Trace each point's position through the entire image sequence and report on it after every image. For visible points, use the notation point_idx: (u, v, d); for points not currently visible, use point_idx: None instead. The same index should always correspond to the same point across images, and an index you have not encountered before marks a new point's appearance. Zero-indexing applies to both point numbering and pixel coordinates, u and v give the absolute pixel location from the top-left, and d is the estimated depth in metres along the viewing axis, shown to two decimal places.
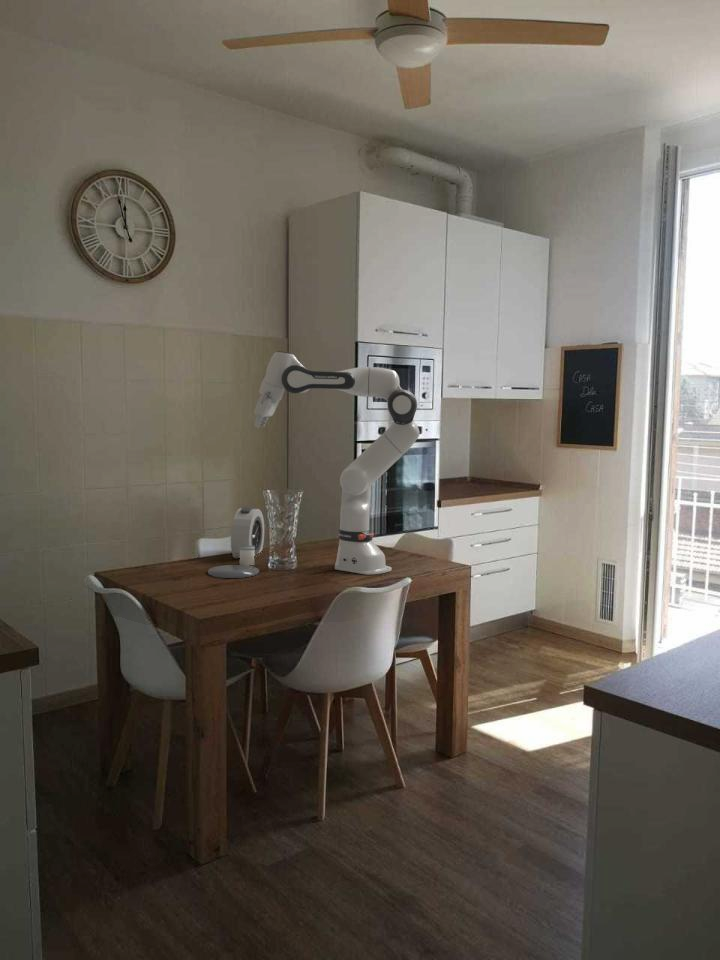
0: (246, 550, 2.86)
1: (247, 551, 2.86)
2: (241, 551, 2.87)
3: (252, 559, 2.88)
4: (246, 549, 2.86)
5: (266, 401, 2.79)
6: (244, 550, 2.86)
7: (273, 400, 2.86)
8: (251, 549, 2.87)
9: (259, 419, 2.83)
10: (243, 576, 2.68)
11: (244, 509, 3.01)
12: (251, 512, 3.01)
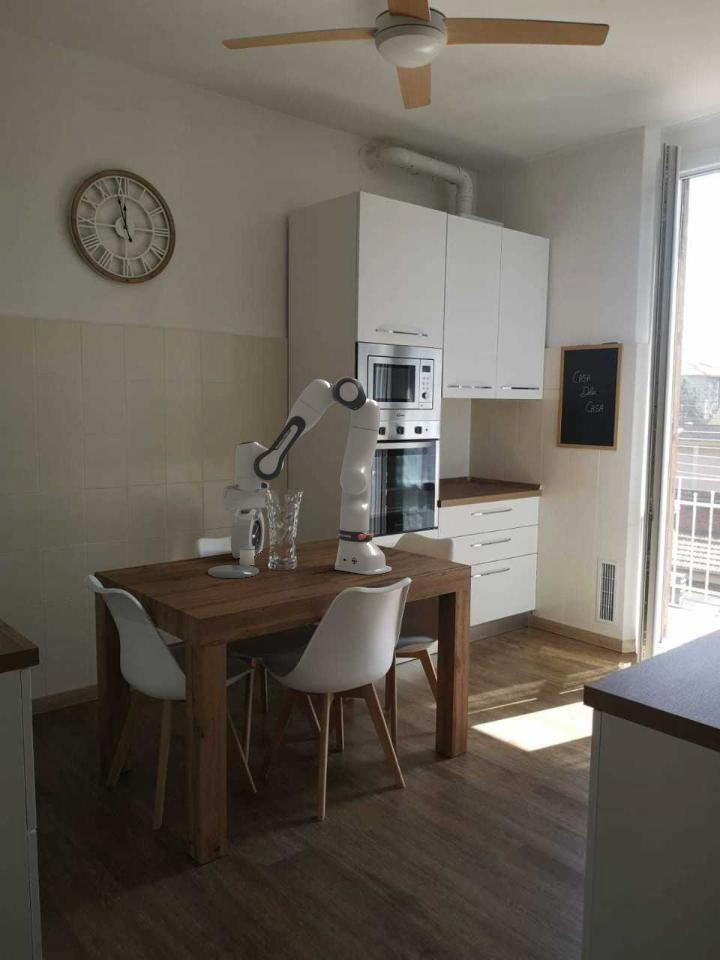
0: (246, 550, 2.86)
1: (247, 551, 2.86)
2: (241, 551, 2.87)
3: (252, 559, 2.88)
4: (246, 549, 2.86)
5: (227, 494, 2.80)
6: (244, 550, 2.86)
7: (245, 491, 2.84)
8: (251, 549, 2.87)
9: (232, 513, 2.83)
10: (243, 576, 2.68)
11: (244, 509, 3.01)
12: (251, 512, 3.01)
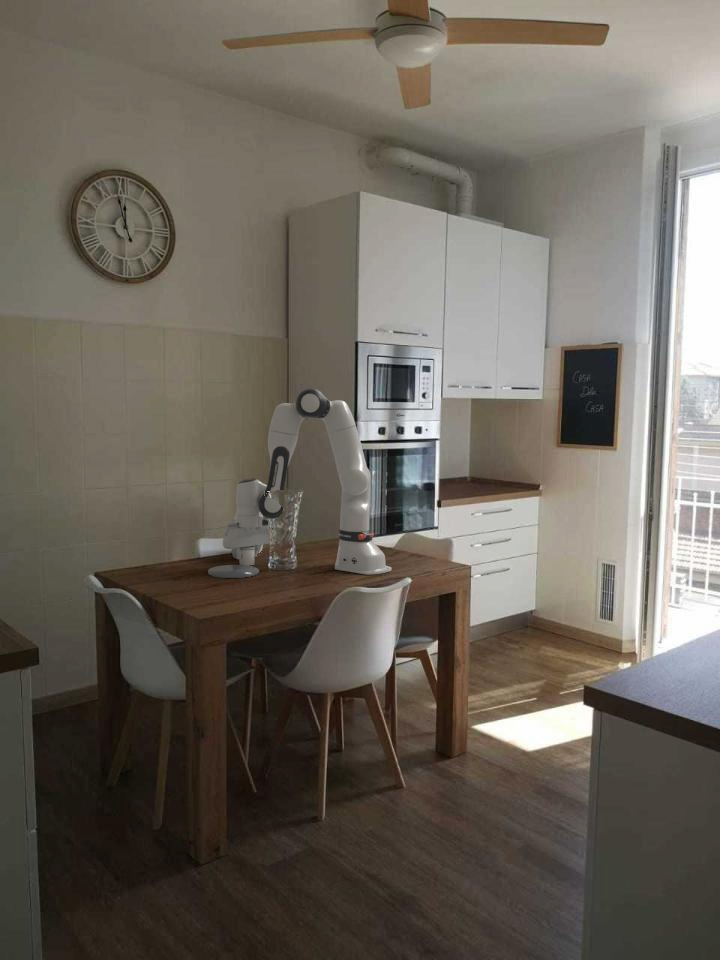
0: (246, 550, 2.86)
1: (247, 551, 2.86)
2: (241, 551, 2.87)
3: (252, 559, 2.88)
4: (246, 549, 2.86)
5: (228, 533, 2.81)
6: (244, 550, 2.86)
7: (246, 529, 2.85)
8: (251, 549, 2.87)
9: (236, 551, 2.85)
10: (243, 576, 2.68)
11: None
12: None
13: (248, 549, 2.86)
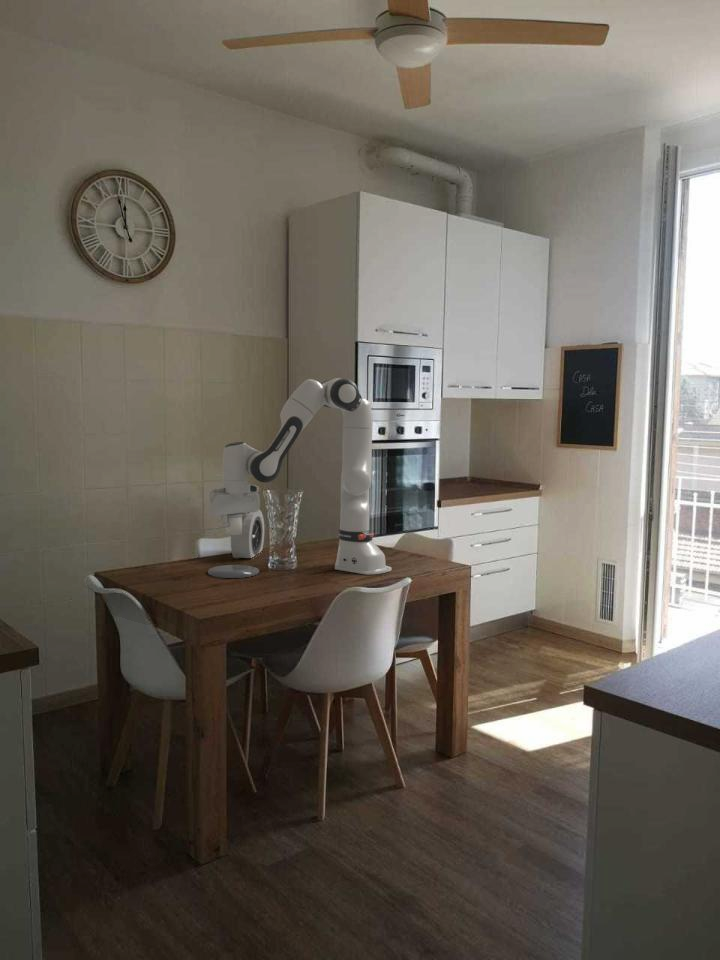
0: (233, 517, 2.71)
1: (234, 518, 2.71)
2: (228, 518, 2.71)
3: (239, 527, 2.72)
4: (233, 516, 2.70)
5: (214, 498, 2.65)
6: (231, 517, 2.71)
7: (233, 495, 2.69)
8: (238, 516, 2.71)
9: (223, 518, 2.69)
10: (243, 576, 2.68)
11: None
12: (251, 512, 3.01)
13: (235, 516, 2.71)
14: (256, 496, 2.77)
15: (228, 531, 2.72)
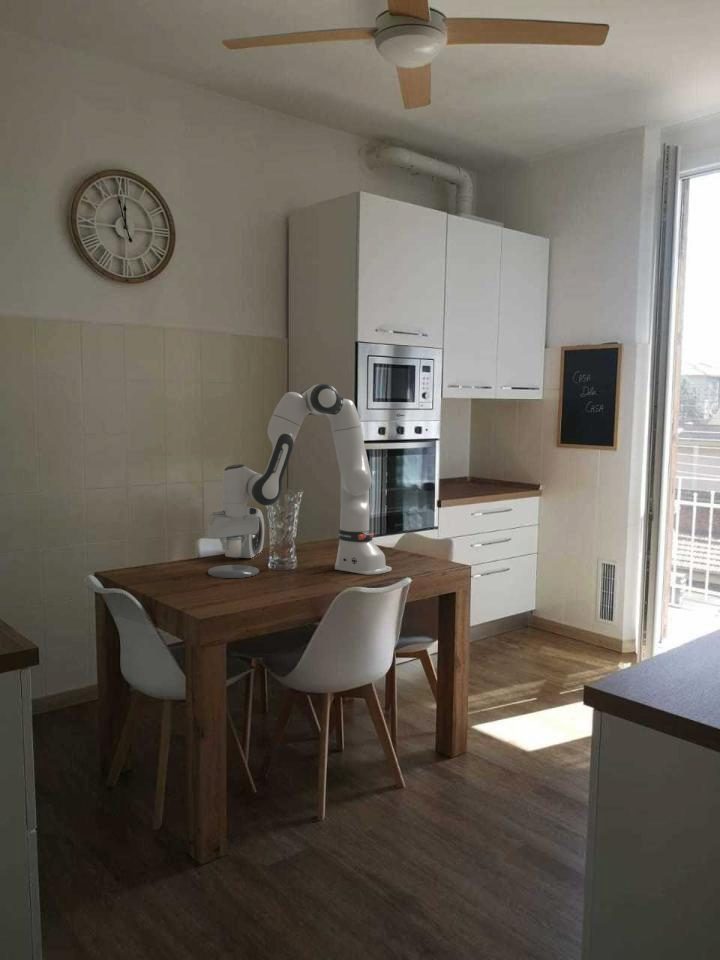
0: (232, 540, 2.71)
1: (233, 541, 2.71)
2: (227, 541, 2.72)
3: (238, 549, 2.73)
4: (232, 539, 2.71)
5: (214, 521, 2.66)
6: (230, 540, 2.71)
7: (232, 518, 2.70)
8: (237, 539, 2.72)
9: (222, 541, 2.70)
10: (243, 576, 2.68)
11: None
12: None
13: (234, 539, 2.71)
14: (255, 518, 2.77)
15: (227, 553, 2.72)
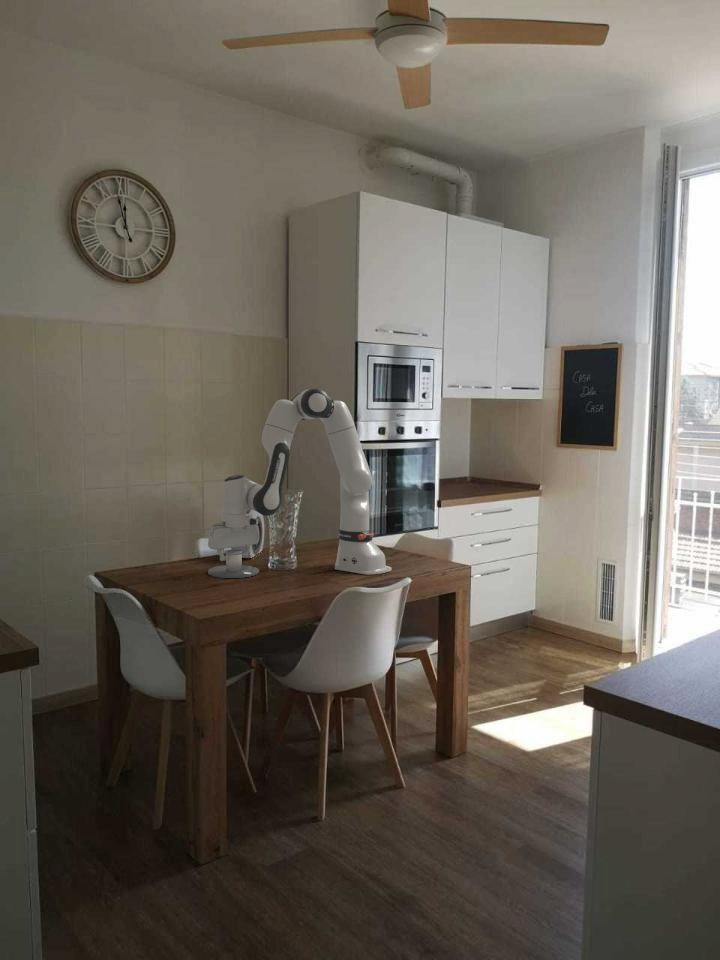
0: (233, 554, 2.72)
1: (234, 556, 2.72)
2: (227, 556, 2.73)
3: (239, 564, 2.74)
4: (233, 553, 2.72)
5: (214, 533, 2.66)
6: (231, 554, 2.72)
7: (233, 529, 2.71)
8: (238, 553, 2.73)
9: (219, 552, 2.70)
10: (243, 576, 2.68)
11: None
12: (251, 512, 3.01)
13: (235, 554, 2.72)
14: (256, 529, 2.78)
15: (228, 568, 2.73)
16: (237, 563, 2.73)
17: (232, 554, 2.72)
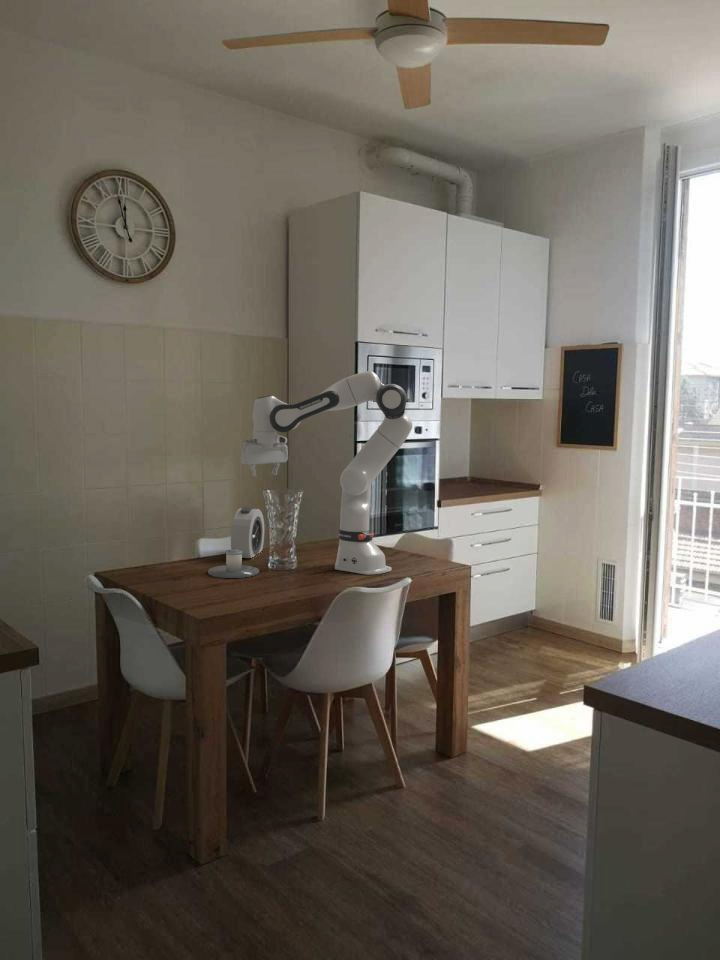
0: (233, 555, 2.72)
1: (234, 556, 2.72)
2: (228, 556, 2.73)
3: (239, 564, 2.74)
4: (233, 553, 2.72)
5: (247, 448, 2.81)
6: (231, 555, 2.72)
7: (264, 445, 2.85)
8: (238, 553, 2.73)
9: (252, 467, 2.84)
10: (243, 576, 2.68)
11: (244, 509, 3.01)
12: (251, 512, 3.01)
13: (235, 554, 2.72)
14: (284, 447, 2.93)
15: (228, 568, 2.73)
16: (237, 563, 2.73)
17: (232, 554, 2.72)
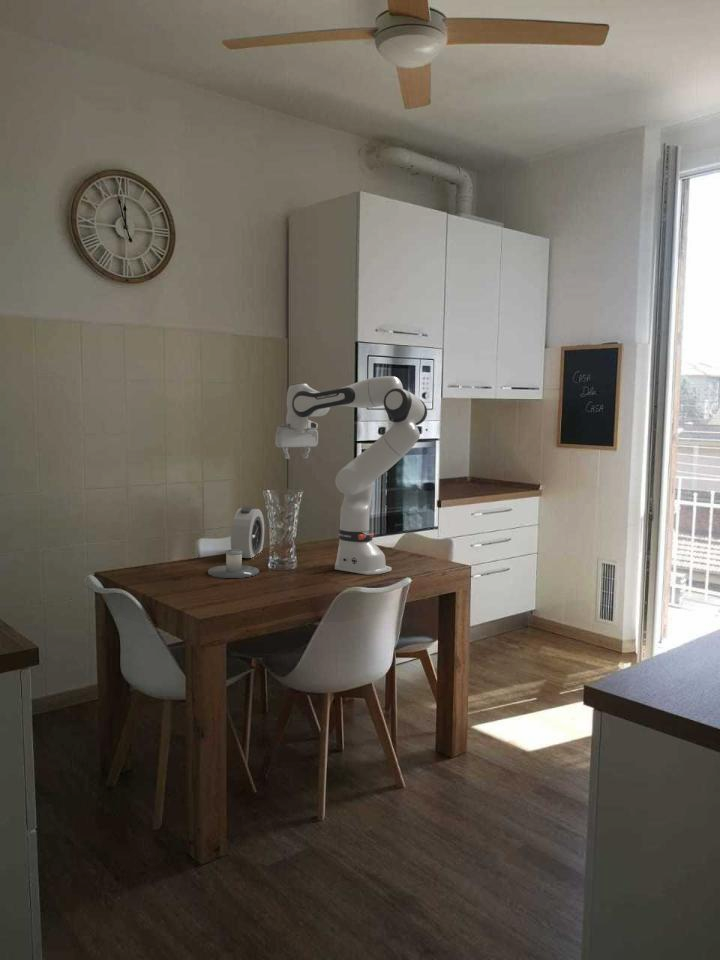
0: (233, 555, 2.72)
1: (234, 556, 2.72)
2: (227, 556, 2.73)
3: (239, 564, 2.74)
4: (233, 553, 2.72)
5: (281, 432, 3.00)
6: (231, 555, 2.72)
7: (296, 430, 3.05)
8: (238, 553, 2.73)
9: (285, 450, 3.04)
10: (243, 576, 2.68)
11: (244, 509, 3.01)
12: (251, 512, 3.01)
13: (235, 554, 2.72)
14: (315, 432, 3.12)
15: (228, 568, 2.73)
16: (237, 563, 2.73)
17: (232, 554, 2.72)
